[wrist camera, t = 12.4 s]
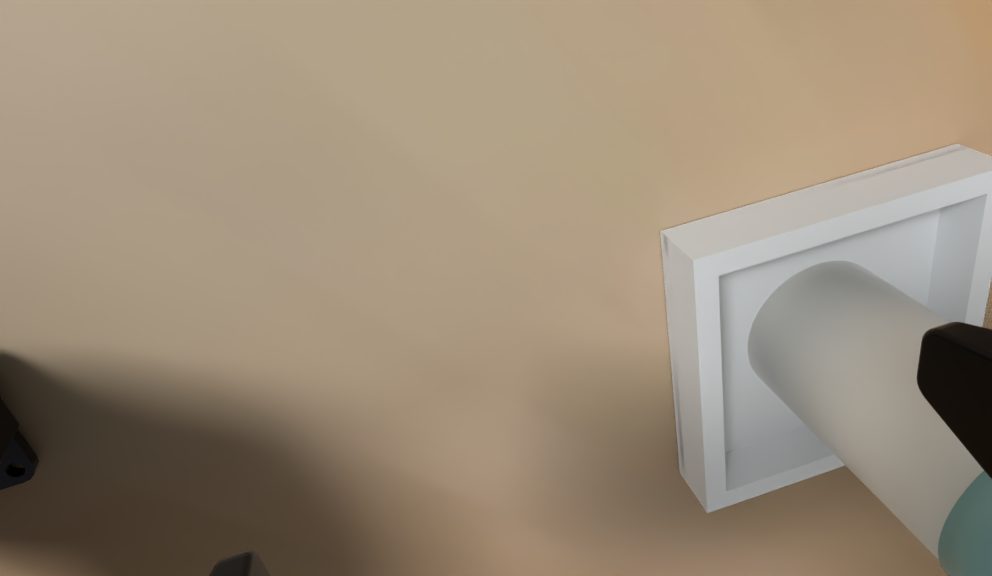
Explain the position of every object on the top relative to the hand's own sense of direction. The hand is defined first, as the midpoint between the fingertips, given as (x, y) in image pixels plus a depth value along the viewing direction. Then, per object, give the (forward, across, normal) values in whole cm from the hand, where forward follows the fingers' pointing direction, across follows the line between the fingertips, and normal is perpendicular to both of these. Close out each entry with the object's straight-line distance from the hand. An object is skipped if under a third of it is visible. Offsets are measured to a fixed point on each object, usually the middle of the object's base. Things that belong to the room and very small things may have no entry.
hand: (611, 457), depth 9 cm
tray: (+13, -12, +10) cm, 20 cm away
